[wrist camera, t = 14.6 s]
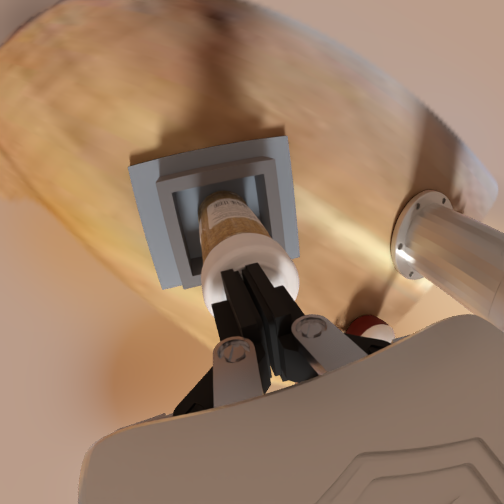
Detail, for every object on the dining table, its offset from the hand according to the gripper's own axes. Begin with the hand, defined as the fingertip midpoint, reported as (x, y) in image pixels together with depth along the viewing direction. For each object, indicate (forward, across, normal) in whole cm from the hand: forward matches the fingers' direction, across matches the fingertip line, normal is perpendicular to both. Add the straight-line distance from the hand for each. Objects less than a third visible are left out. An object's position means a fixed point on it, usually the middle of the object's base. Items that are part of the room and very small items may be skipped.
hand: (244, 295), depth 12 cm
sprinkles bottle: (+14, -1, 0) cm, 14 cm away
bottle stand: (+15, -1, 0) cm, 15 cm away
